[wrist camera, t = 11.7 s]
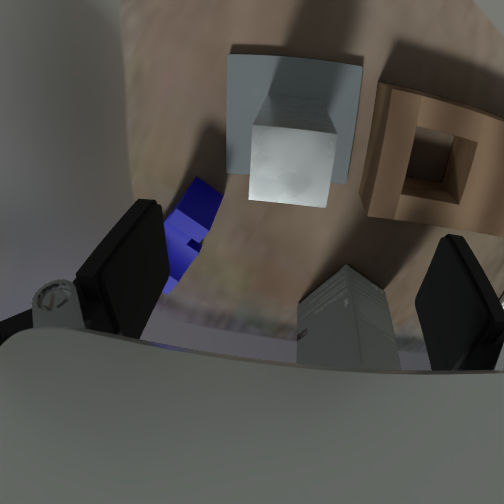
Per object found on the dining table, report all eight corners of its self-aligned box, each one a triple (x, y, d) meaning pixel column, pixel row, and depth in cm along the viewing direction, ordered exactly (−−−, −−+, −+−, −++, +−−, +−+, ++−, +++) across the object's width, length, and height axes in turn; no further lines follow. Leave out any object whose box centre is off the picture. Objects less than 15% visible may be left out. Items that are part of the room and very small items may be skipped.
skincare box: (346, 260, 32) (364, 406, 19) (389, 293, 34) (416, 424, 21) (292, 306, 36) (284, 439, 24) (337, 332, 38) (341, 454, 26)
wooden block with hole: (526, 127, 20) (550, 142, 17) (498, 217, 26) (515, 239, 23) (377, 81, 21) (392, 88, 18) (358, 193, 27) (367, 216, 24)
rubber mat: (360, 65, 21) (362, 66, 20) (344, 180, 27) (345, 184, 26) (229, 53, 21) (227, 54, 21) (227, 169, 27) (226, 173, 27)
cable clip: (175, 276, 36) (158, 315, 31) (141, 254, 35) (120, 291, 30) (237, 204, 30) (225, 241, 25) (197, 175, 28) (176, 208, 24)
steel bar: (321, 98, 22) (337, 134, 14) (315, 147, 24) (325, 208, 17) (267, 93, 22) (252, 124, 14) (264, 141, 25) (248, 199, 17)
